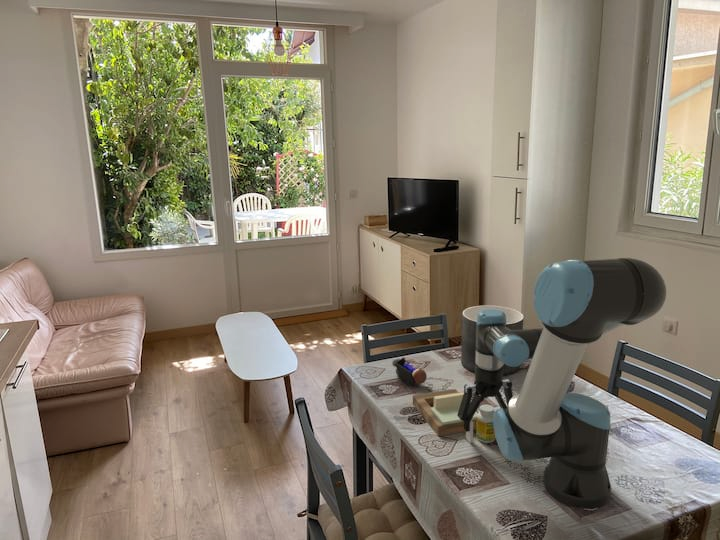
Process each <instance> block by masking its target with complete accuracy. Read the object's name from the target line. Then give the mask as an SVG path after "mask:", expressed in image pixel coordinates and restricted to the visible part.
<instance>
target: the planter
mask: <svg viewBox="0 0 720 540" xmlns="http://www.w3.org/2000/svg"><path fill="white" fill-rule="evenodd" d="M486 309H495V310H500V311H502V312H504V313H505V315H506V327H508V328H509V329H510V330H524V314H523V313H522V312H520V311H518V310H517V309H514V308H510V307H506V306H499V305H475V306H470V307H467V308H465V309H463V311H462V316H461V317H462V318H461V321H462V322H461V356H460V357H461V360H460V362H461V365H462V366H463V368H464V369H466V370H468V371H469V372H472V373H474V374H475V365H476V362H475V361H476V334H477V325H476V323H477V317H478V313H479V312H480V311H482V310H486ZM502 367H503V377H505V376H510V375H513V374H515V373H517V372H519V370H520V369H521V365H519V366H517V367H510V366H507V365H505V364H504V365H503V366H502Z"/></svg>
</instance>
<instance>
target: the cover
mask: <svg viewBox="0 0 720 540" xmlns="http://www.w3.org/2000/svg"><path fill="white" fill-rule="evenodd" d="M463 395H464V391H461V392H459V393H454V394H448V395H441V396H435V397H434V407H431V408H430V410H431V411H432V412H433V414H434V415H435V416H436V417H437V418H438V420H439V421H440V422H441V423H442V424H443V425H445V424H451V423H457V422H463V421H462V420H461V419H460V418H459V417H458V416H457V415H458V411H459V408H460V405H461V401H462V398H463ZM477 415H478V413H477V412H475V414H474V416H473V418H472V419H471V420H475V419H477Z"/></svg>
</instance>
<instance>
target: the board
mask: <svg viewBox="0 0 720 540" xmlns="http://www.w3.org/2000/svg"><path fill="white" fill-rule="evenodd" d="M454 393H460V392H459V391H458V390H457V389H456V388H452V389H451V388H450V389H446V390H445V389H444V390H438V391H434V392H433V391H431V392H427V393H420V394H412V405H413V406H414V407H415V409H416V410H417V412H419V414H420V415H421V416H422V418H423V419H424V421H426V423H427V424H428V425H429V426H430V428H431V429H432V430H433V432H434V433H435V434H436V436H438V437H441V436H446V435H450V434H457V433H463V432H466V431H465V430H464V421H463V422H457V423H451V424H445V425H443V424H442V423H441V422H440V421H439V420H438V418H437V417H436V416H435V415H434V414H433V412H432V411H431V410H430V408H431V407H434V397H435V396H441V395H448V394H454ZM476 412H477V413H479V412H480V411H478V409H477V410H476ZM472 421H473V431H475V430H477V419H475V420H472Z"/></svg>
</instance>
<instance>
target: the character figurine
mask: <svg viewBox="0 0 720 540" xmlns="http://www.w3.org/2000/svg"><path fill="white" fill-rule="evenodd" d="M391 363H392V366H393V367H394V368H396V369H395V374H396V375H398V376H399V379H401V380H402V381H404V382H405V383H406V384H408V385H410V386H411V387H413V388H414V389H417V384H418V385H420V384H423V383H425V382H426V380H427V373H426V371H425V370H424V369H422V368H416V367H413V366H412V365H410V362H409V361H408V360H406V358H405V357H402V358H401V359H400V358H399V359H394V360H393V361H392V362H391Z"/></svg>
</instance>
